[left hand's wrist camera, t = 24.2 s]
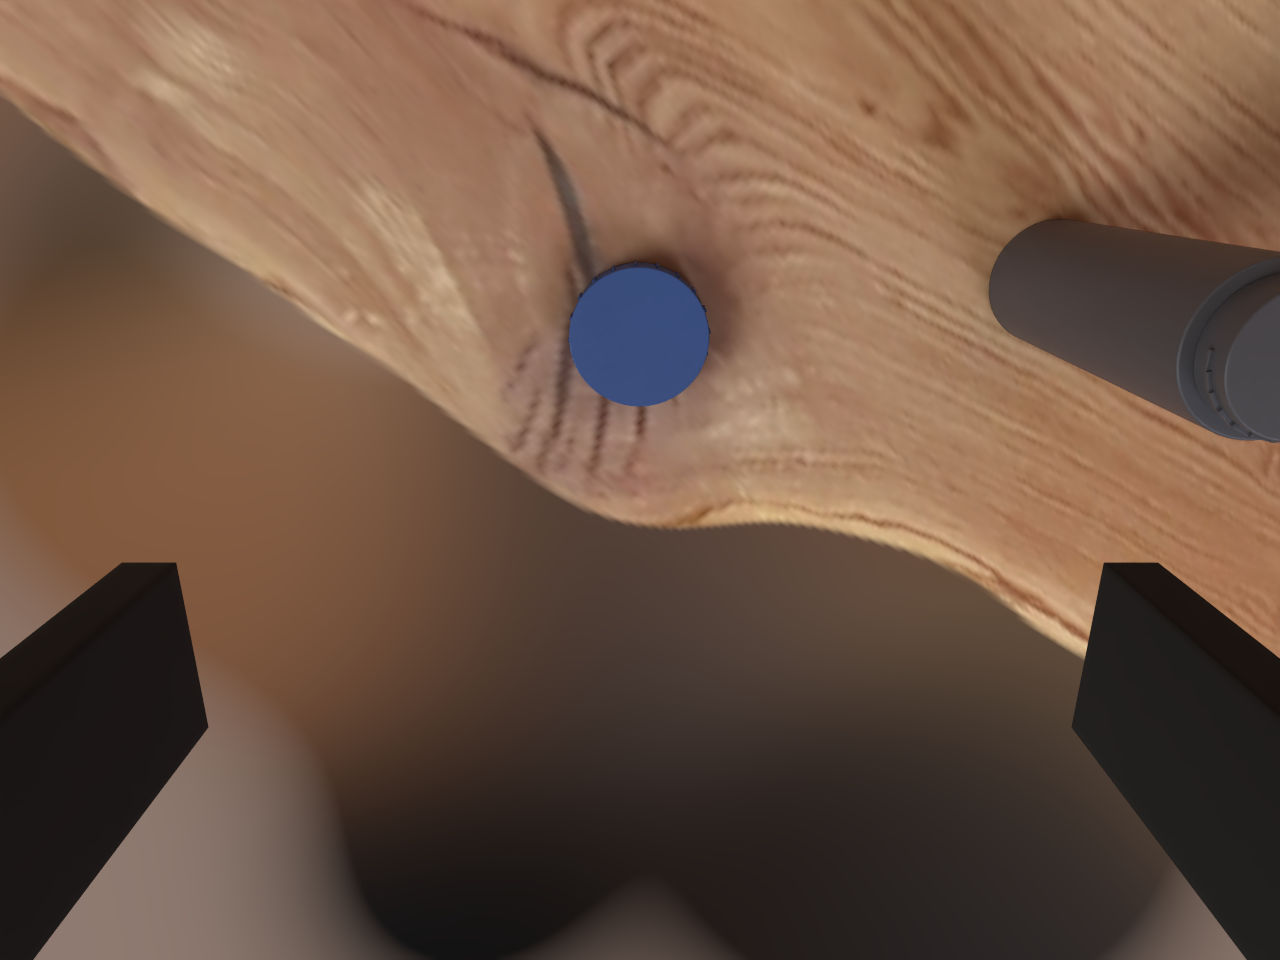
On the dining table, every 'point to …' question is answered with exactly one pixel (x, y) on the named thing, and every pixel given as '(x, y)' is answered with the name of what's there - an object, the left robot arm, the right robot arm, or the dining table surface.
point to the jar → (1152, 317)
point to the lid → (639, 334)
